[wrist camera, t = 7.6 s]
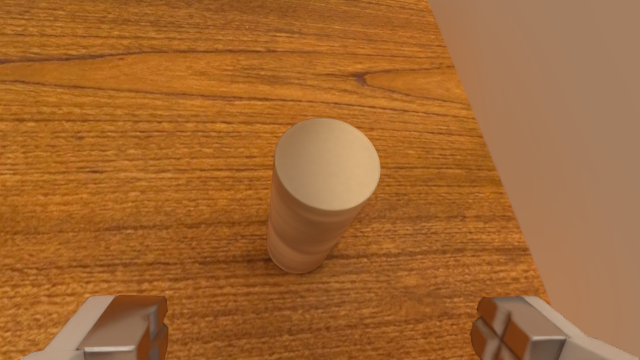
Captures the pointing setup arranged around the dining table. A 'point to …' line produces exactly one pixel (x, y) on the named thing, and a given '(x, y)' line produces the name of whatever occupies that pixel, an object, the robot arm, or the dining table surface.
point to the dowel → (317, 190)
